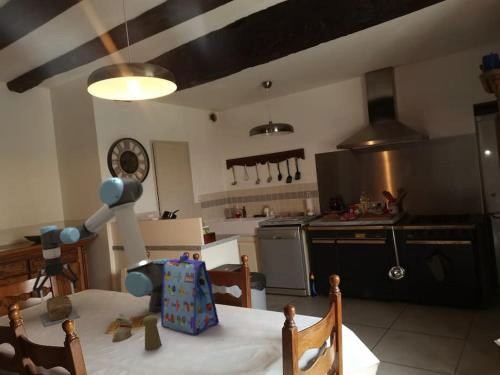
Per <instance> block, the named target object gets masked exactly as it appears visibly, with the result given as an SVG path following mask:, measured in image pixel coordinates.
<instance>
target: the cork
mask: <svg viewBox="0 0 500 375" xmlns="http://www.w3.org/2000/svg"><path fill="white" fill-rule="evenodd" d="M157 324H158V317H157V316H156V315H154V314H150V315H147V316H145V317H143V319H142V326H143V327H144V350H145V351H154V350H158V349H160V348H161V347H162V345H163V344H162V340H161V336H160V332H159V328H158V325H157Z"/></svg>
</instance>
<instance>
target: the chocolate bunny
mask: <svg viewBox="0 0 500 375" xmlns="http://www.w3.org/2000/svg"><path fill="white" fill-rule="evenodd" d="M115 321H116V322H118V324H119V326H118V327H117V328H116V329H115V330H114V332H113V336H112V339H111V341H112V343H114V342H115V343H116V342H120V341H121V342H122V341H124V340H127V339H129V338H130V337H131V336H132V335H133V334H132V329H133V326H132V325H133V321H132V318H131V317H128V316H125V315H124V314H123V313H121V312H118V315H117V316H116V318H115Z"/></svg>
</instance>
